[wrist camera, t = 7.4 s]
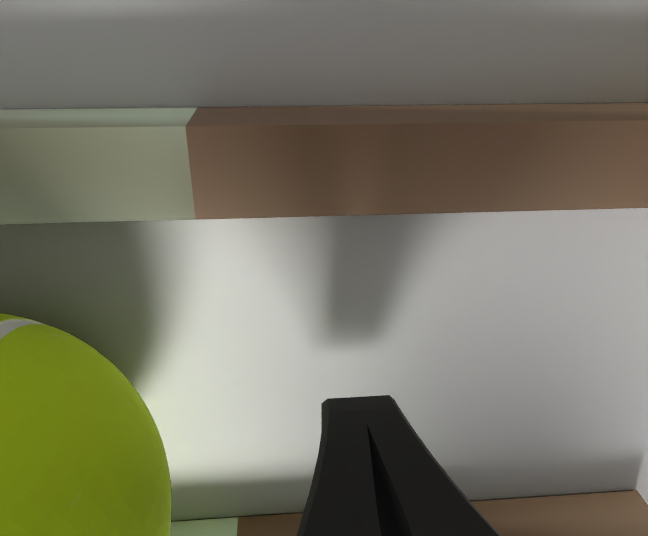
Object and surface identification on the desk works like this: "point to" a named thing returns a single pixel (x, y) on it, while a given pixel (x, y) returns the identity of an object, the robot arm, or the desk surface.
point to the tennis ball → (74, 441)
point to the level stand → (337, 201)
